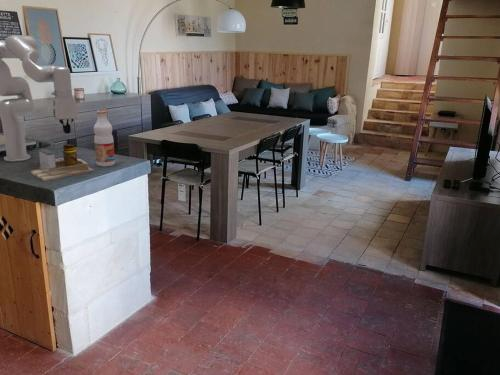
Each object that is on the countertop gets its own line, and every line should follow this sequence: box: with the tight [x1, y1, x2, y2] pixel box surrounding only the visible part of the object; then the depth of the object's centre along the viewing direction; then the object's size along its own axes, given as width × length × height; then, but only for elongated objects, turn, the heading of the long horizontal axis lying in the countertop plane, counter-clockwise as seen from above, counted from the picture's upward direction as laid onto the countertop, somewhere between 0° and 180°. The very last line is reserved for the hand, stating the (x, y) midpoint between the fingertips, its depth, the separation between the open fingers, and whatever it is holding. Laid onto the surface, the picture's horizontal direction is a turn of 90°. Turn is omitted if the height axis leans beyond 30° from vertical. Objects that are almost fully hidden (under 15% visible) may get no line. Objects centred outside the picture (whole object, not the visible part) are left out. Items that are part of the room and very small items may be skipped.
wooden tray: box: [30, 158, 95, 182], centre depth 210 cm, size 16×24×4 cm, turn 135°
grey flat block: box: [38, 148, 56, 175], centre depth 204 cm, size 10×3×10 cm, turn 45°
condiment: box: [59, 143, 78, 168], centre depth 211 cm, size 7×8×12 cm
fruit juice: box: [93, 110, 116, 167], centre depth 222 cm, size 9×9×28 cm
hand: (67, 132), depth 207 cm, fingers closed
